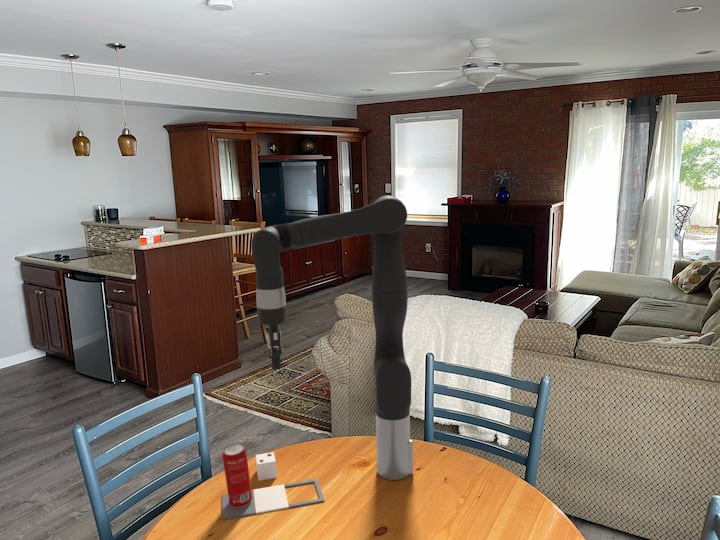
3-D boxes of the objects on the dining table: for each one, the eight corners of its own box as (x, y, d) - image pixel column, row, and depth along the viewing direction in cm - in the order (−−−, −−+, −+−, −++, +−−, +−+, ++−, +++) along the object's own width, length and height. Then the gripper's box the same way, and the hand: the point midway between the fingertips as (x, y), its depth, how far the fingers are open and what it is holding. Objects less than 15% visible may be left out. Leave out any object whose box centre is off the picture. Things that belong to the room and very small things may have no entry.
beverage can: (256, 498, 136) (253, 443, 133) (241, 513, 130) (236, 456, 127) (237, 492, 138) (233, 439, 135) (221, 507, 132) (217, 451, 130)
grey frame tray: (317, 480, 144) (317, 478, 144) (324, 501, 134) (324, 500, 134) (222, 496, 138) (222, 494, 137) (222, 520, 128) (222, 518, 128)
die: (274, 468, 150) (273, 451, 149) (276, 477, 145) (275, 460, 144) (256, 471, 149) (255, 454, 148) (258, 481, 144) (257, 463, 143)
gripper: (289, 309, 133) (292, 371, 136) (282, 297, 146) (285, 353, 149) (258, 312, 131) (262, 374, 134) (254, 299, 144) (258, 356, 147)
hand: (274, 363), depth 141 cm, fingers open, 8 cm apart
